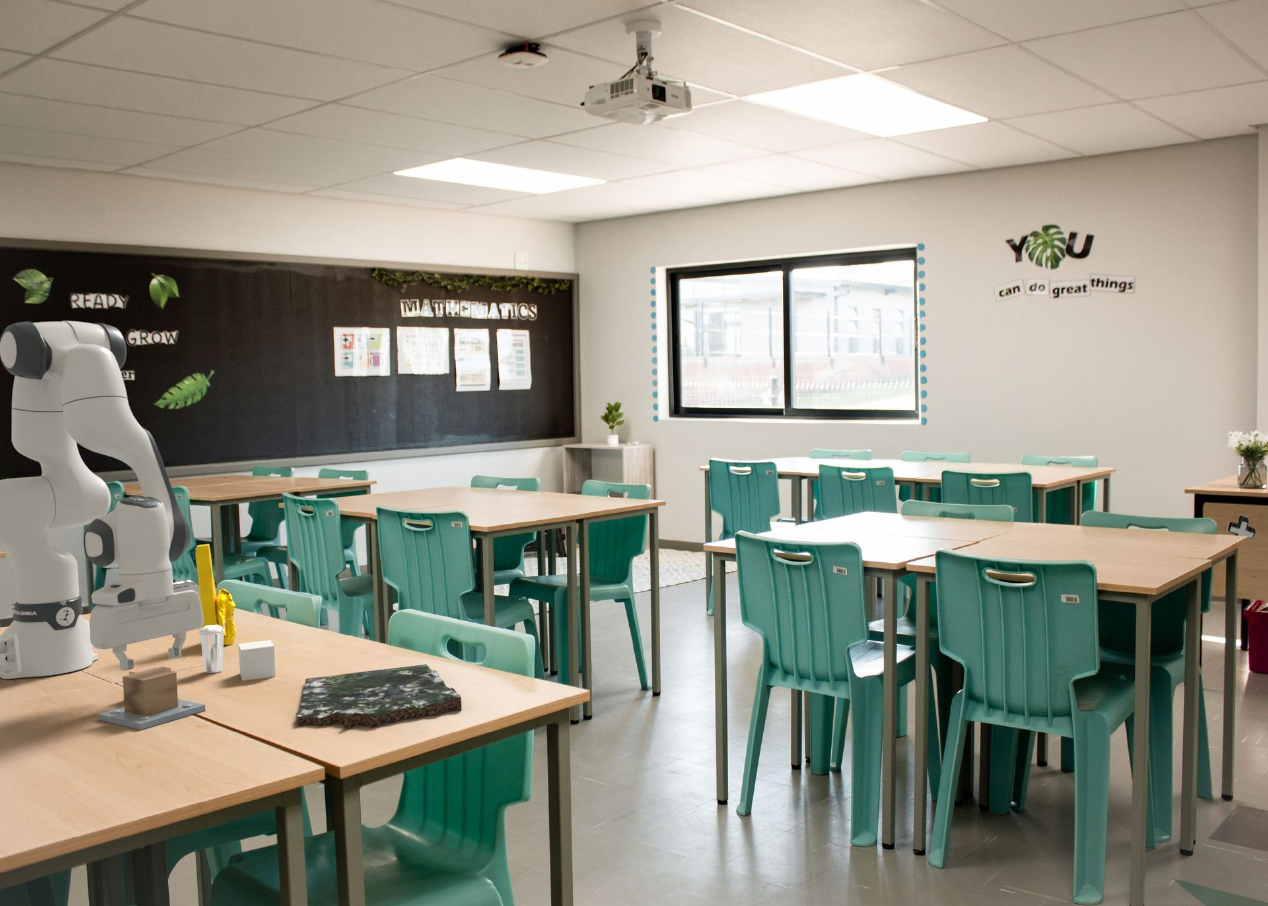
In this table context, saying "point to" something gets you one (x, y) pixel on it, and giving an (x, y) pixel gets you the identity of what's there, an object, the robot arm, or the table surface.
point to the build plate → (144, 722)
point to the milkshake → (212, 647)
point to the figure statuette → (214, 597)
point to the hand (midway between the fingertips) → (151, 663)
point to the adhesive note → (256, 660)
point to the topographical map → (376, 697)
